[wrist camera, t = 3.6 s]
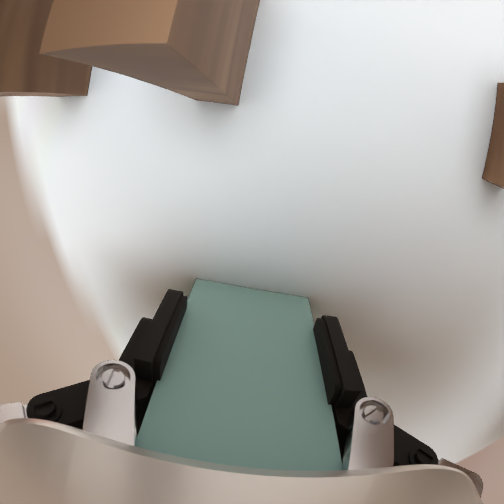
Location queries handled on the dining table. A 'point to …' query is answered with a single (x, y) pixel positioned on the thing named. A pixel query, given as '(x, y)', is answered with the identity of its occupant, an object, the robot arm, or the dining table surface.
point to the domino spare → (243, 385)
